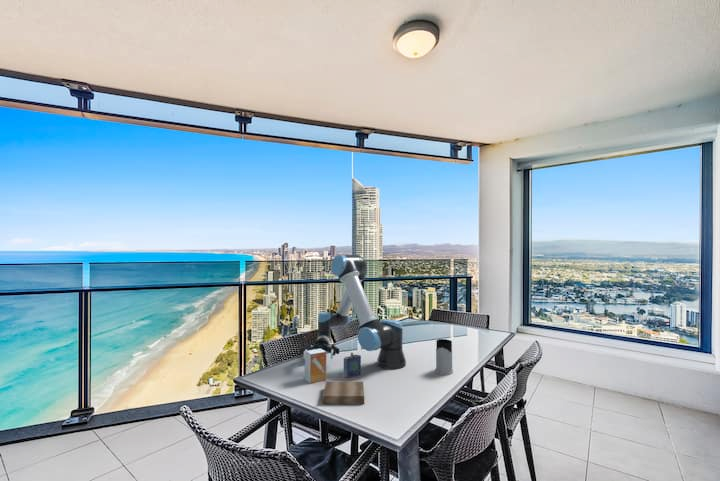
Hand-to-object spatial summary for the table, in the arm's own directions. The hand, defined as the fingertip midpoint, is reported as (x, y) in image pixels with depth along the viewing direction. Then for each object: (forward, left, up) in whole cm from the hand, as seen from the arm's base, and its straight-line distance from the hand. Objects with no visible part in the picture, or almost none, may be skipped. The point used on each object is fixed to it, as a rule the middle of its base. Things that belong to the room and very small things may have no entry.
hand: (317, 356), depth 152 cm
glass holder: (-65, -3, -8) cm, 65 cm away
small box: (0, +10, -8) cm, 13 cm away
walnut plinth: (-14, +27, -8) cm, 31 cm away
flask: (-17, +5, -8) cm, 19 cm away
